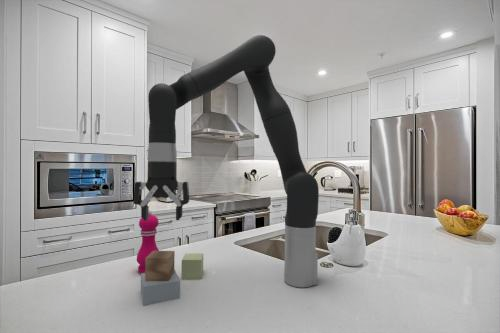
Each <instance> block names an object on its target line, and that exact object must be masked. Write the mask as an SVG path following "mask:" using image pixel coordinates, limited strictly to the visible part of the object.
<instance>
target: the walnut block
mask: <svg viewBox="0 0 500 333" xmlns="http://www.w3.org/2000/svg"><path fill="white" fill-rule="evenodd" d="M175 253H176V251H175V250H159V251H152V252H151V253H150V254H149V255H148V256H147V257H146V258H145V281H169V280H170V278H171V276H172V275H173V273H174V269H175V255H176V254H175Z"/></svg>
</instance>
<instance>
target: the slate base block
mask: <svg viewBox="0 0 500 333" xmlns="http://www.w3.org/2000/svg"><path fill="white" fill-rule="evenodd" d="M180 279H181V278H180V277H179V275H178V272H176V269H175V268H174V273H173V275H172V276H171V278H170V280H169V281H145V273H141V274H140V292H141V300H142V306H143V307H144V306H149V305H153V304H158V303H162V302H168V301H173V300H178V299H180V298H181V280H180Z"/></svg>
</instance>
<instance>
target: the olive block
mask: <svg viewBox="0 0 500 333" xmlns="http://www.w3.org/2000/svg"><path fill="white" fill-rule="evenodd" d="M203 273H204V253H203V252H202V253H199V252H198V253H193V252H192V253H184V255H183V257H182V259H181V276H180V277H181V278H180V279H181V280H201V279H202V277H203Z"/></svg>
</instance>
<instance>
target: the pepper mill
mask: <svg viewBox="0 0 500 333" xmlns="http://www.w3.org/2000/svg"><path fill="white" fill-rule="evenodd" d="M138 226H139V228H140V229H141V230H140V235H141V237H142V238H141V241H142V242H141V245H140V248H139V249H138V252H137V255H136V262H137V263H138V267H137V268H138V269H137V271H138V274H140V275H141V273H145V258H146V257H147V256H148V255H149V254H150V253H151V252H152V251H160V250H159V248H158V245H157V243H156V235H157V234H158V232H157V227H158V226H159V218H158V217H157V216H156V215H154V214H153V212H152V210H150V209H149V218H148V220H147V221H144V220H143V218H142V217H141V218H140V219H139V221H138Z"/></svg>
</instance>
